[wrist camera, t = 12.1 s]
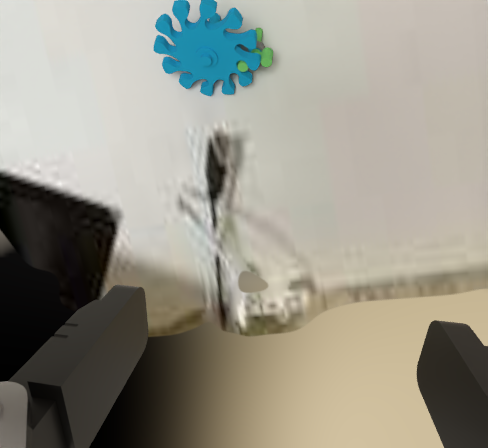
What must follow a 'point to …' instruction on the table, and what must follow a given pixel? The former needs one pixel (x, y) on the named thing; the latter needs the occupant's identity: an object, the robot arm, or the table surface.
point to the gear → (210, 47)
